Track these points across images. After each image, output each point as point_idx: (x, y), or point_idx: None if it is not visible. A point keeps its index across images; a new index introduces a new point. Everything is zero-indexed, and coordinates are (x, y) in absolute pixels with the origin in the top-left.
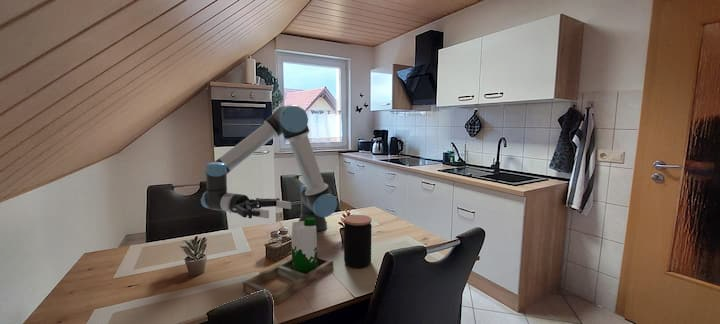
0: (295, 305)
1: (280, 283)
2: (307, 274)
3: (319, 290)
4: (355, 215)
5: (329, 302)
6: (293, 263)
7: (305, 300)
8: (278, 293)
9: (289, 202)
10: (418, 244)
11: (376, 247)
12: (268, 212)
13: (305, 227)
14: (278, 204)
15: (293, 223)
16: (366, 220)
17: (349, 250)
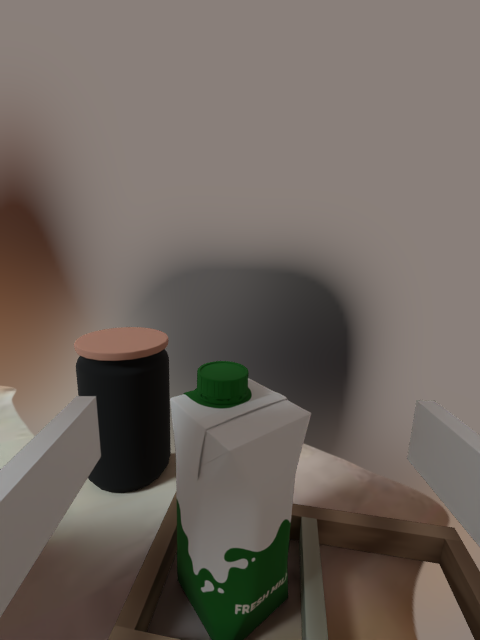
0: (398, 510)
1: (365, 629)
2: (298, 512)
3: (308, 492)
4: (85, 343)
5: (331, 459)
6: (286, 572)
7: (365, 500)
8: (439, 529)
9: (93, 401)
10: (10, 396)
11: (8, 454)
12: (419, 415)
13: (271, 391)
14: (4, 560)
15: (247, 440)
16: (138, 329)
17: (165, 426)
